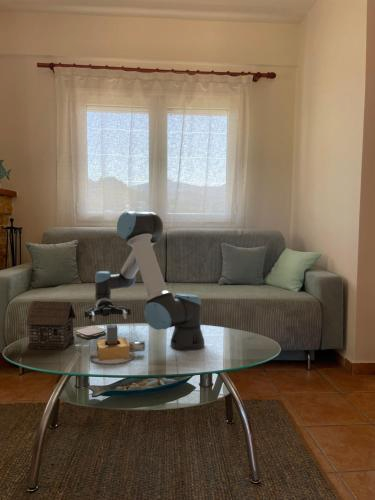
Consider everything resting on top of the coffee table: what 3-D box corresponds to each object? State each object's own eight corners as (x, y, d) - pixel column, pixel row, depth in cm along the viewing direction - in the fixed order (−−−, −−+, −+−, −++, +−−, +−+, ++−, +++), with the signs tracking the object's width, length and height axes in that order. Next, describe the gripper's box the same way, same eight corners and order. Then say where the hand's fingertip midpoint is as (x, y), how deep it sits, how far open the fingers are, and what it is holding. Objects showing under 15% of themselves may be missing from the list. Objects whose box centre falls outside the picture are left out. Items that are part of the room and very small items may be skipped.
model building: (25, 349, 183) (24, 304, 181) (39, 340, 197) (38, 297, 196) (66, 350, 182) (65, 304, 180) (77, 340, 196) (76, 298, 194)
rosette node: (140, 348, 185) (140, 334, 185) (148, 361, 168) (148, 346, 167) (88, 352, 179) (88, 338, 178) (91, 366, 162) (91, 351, 161)
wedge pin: (116, 352, 175) (116, 324, 174) (117, 355, 171) (117, 326, 170) (106, 353, 174) (106, 325, 173) (107, 356, 170) (107, 327, 169)
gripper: (131, 313, 205) (138, 323, 185) (78, 316, 198) (80, 327, 178) (131, 297, 204) (138, 306, 184) (77, 300, 197) (79, 310, 177)
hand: (109, 317), depth 181 cm, fingers open, 13 cm apart
